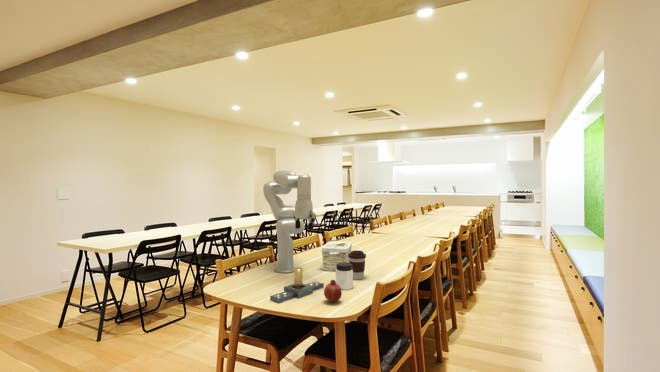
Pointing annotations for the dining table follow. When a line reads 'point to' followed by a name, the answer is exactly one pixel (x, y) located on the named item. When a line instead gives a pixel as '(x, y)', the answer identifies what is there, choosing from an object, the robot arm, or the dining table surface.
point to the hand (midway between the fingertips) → (304, 229)
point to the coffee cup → (357, 264)
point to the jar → (344, 275)
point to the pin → (298, 278)
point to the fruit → (332, 291)
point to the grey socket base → (296, 292)
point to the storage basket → (335, 254)
